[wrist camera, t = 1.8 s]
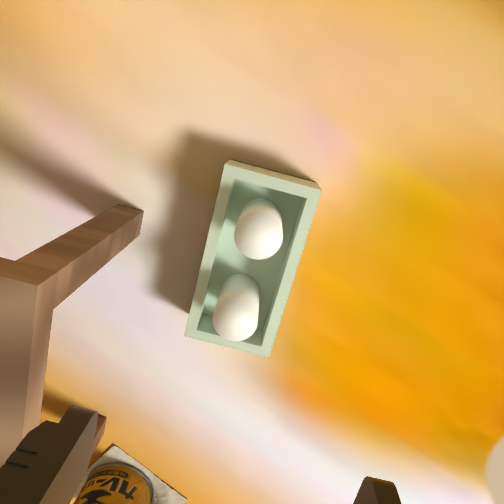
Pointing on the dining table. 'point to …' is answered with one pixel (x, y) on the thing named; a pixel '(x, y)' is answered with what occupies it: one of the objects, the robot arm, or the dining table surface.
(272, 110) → the dining table surface
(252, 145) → the dining table surface
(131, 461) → the condiment
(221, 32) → the dining table surface
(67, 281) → the brown wooden side table
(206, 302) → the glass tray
